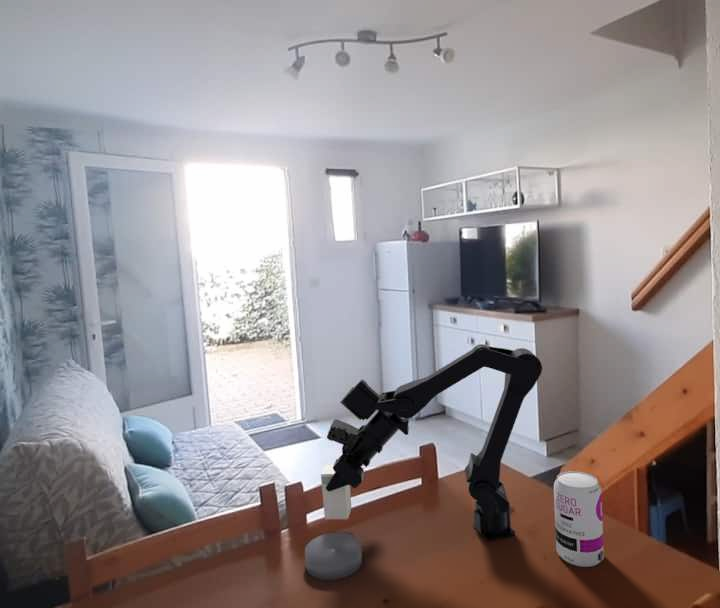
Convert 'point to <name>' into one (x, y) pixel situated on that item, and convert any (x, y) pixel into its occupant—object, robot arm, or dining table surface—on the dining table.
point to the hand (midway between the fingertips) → (329, 484)
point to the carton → (335, 497)
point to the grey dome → (333, 556)
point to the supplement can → (578, 518)
